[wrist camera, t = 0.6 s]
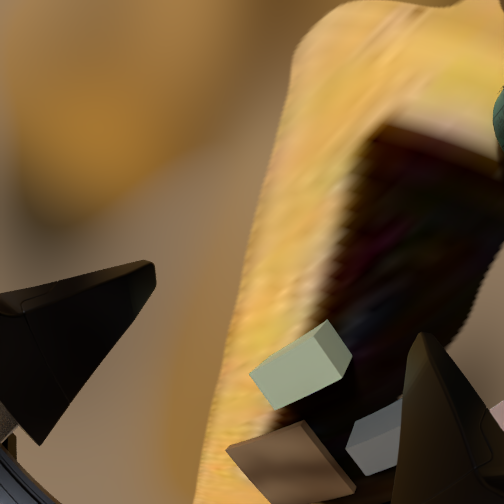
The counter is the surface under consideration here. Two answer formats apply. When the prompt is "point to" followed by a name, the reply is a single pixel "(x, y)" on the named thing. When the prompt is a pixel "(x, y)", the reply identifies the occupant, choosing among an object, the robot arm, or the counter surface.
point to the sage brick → (302, 366)
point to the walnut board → (291, 466)
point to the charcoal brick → (376, 439)
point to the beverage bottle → (499, 119)
